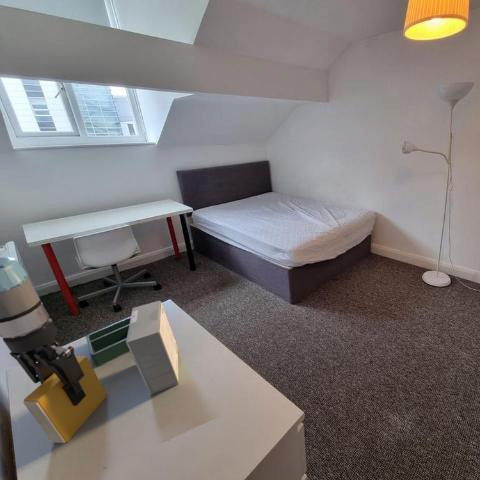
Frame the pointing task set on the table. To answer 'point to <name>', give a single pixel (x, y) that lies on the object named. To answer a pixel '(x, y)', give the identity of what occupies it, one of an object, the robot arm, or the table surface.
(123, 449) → the table surface
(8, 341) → the robot arm
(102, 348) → the caddy
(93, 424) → the table surface
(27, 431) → the table surface
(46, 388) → the book
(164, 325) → the hard drive box
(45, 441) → the table surface
